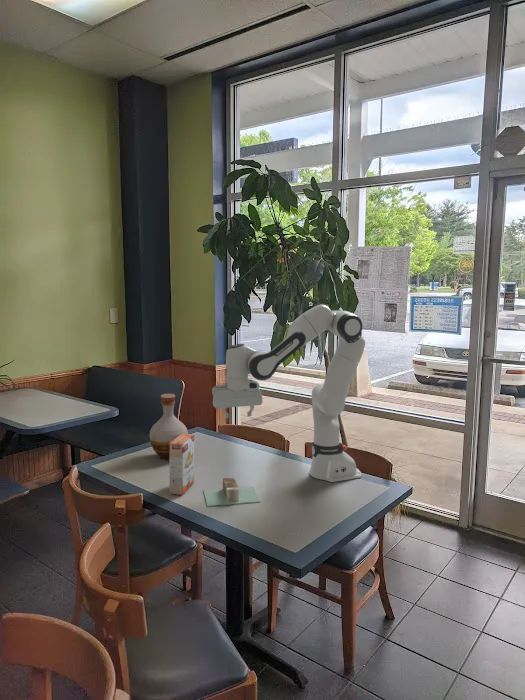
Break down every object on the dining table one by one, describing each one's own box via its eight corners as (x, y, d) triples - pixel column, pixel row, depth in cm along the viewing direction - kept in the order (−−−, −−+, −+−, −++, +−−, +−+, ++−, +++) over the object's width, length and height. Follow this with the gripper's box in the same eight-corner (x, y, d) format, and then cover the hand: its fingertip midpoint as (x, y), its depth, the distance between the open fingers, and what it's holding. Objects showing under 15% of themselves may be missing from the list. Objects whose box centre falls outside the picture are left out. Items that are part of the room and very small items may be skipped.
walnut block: (233, 477, 211) (239, 489, 199) (233, 488, 211) (239, 500, 200) (222, 478, 210) (227, 490, 198) (222, 489, 210) (227, 501, 199)
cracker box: (183, 496, 204) (183, 444, 202) (169, 494, 206) (168, 443, 203) (195, 482, 218) (194, 433, 215) (181, 481, 219) (180, 432, 216)
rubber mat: (252, 488, 213) (252, 487, 213) (260, 502, 199) (260, 501, 199) (203, 491, 209) (203, 490, 209) (207, 506, 195) (207, 505, 195)
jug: (147, 451, 256) (146, 391, 252) (184, 448, 262) (183, 389, 258) (151, 465, 238) (150, 400, 234) (191, 461, 243) (190, 398, 239)
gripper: (212, 387, 208) (213, 420, 210) (263, 383, 212) (263, 417, 214) (210, 383, 214) (211, 416, 216) (259, 380, 219) (260, 413, 220)
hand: (238, 417), depth 215 cm, fingers open, 8 cm apart
